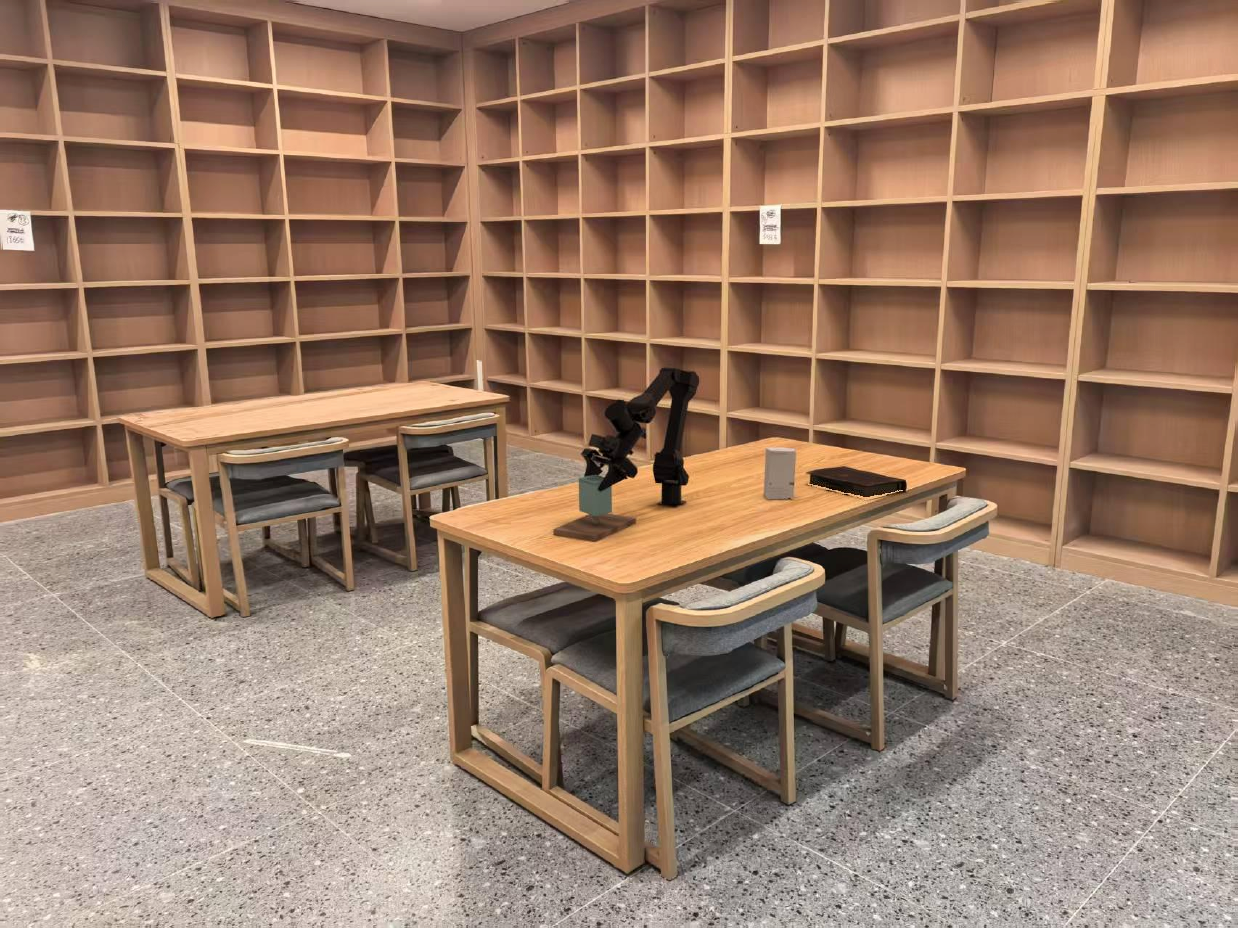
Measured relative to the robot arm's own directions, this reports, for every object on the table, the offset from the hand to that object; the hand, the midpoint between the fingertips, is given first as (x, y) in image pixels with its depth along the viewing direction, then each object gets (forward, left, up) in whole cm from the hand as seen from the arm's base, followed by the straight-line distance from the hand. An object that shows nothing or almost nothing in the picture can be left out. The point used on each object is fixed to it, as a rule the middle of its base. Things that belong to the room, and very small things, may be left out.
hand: (590, 488), depth 242 cm
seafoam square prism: (-1, +1, -7) cm, 7 cm away
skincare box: (-57, +30, -11) cm, 65 cm away
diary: (-79, +45, -12) cm, 92 cm away
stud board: (-1, +1, -11) cm, 11 cm away
